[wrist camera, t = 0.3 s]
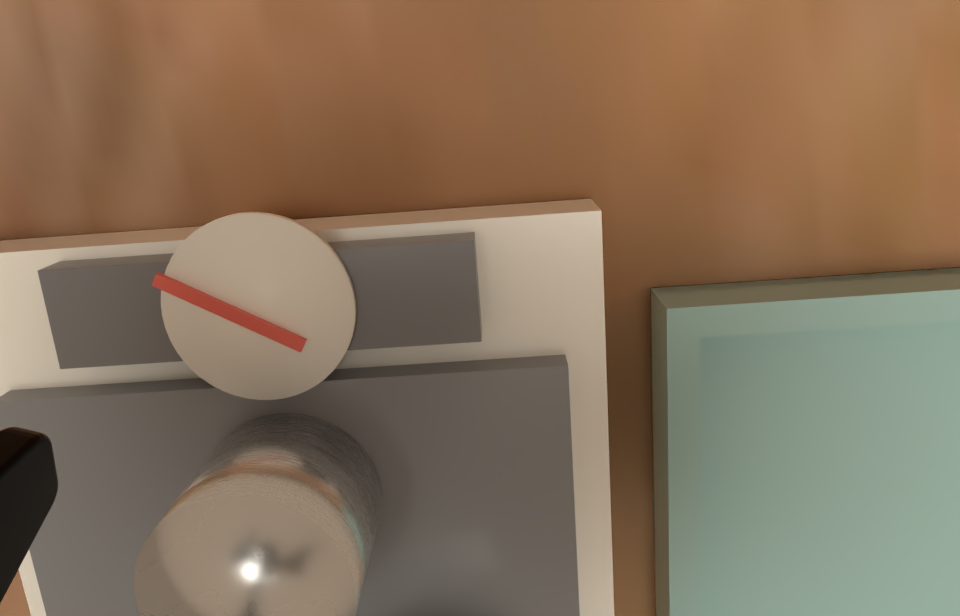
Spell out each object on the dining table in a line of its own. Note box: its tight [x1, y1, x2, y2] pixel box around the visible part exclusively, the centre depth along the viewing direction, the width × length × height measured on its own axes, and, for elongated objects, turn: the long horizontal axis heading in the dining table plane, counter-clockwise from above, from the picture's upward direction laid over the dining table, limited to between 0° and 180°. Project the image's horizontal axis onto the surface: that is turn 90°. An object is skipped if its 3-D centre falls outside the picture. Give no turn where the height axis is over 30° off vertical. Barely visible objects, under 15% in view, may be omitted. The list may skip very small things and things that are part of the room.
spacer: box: [134, 413, 383, 616], centre depth 18 cm, size 4×4×4 cm
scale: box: [0, 199, 614, 616], centre depth 21 cm, size 17×16×4 cm
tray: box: [651, 267, 960, 616], centre depth 22 cm, size 13×13×2 cm
